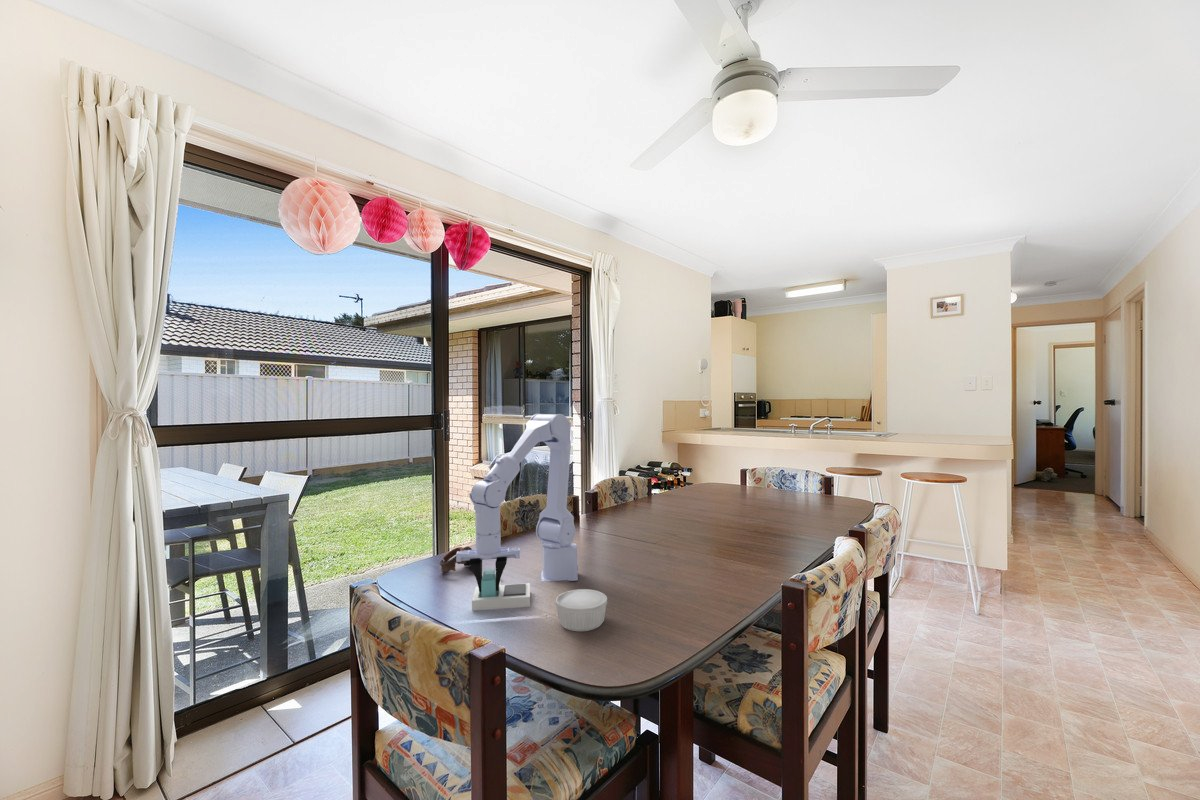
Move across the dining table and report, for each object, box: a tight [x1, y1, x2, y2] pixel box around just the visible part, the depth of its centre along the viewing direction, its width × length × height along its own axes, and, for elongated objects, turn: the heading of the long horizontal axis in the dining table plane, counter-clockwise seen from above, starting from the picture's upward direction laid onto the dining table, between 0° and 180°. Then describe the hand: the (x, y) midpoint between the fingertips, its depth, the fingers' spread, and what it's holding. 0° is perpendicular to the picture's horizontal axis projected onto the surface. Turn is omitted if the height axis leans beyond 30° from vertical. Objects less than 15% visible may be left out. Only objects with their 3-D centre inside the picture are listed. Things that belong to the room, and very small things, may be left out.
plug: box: [481, 568, 497, 597], centre depth 120 cm, size 3×4×6 cm
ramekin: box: [554, 588, 608, 632], centre depth 109 cm, size 11×11×5 cm
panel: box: [471, 582, 531, 612], centre depth 120 cm, size 13×9×3 cm
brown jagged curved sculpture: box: [439, 546, 472, 573], centre depth 142 cm, size 12×10×8 cm
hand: (489, 589), depth 120 cm, fingers closed on plug, 3 cm apart
